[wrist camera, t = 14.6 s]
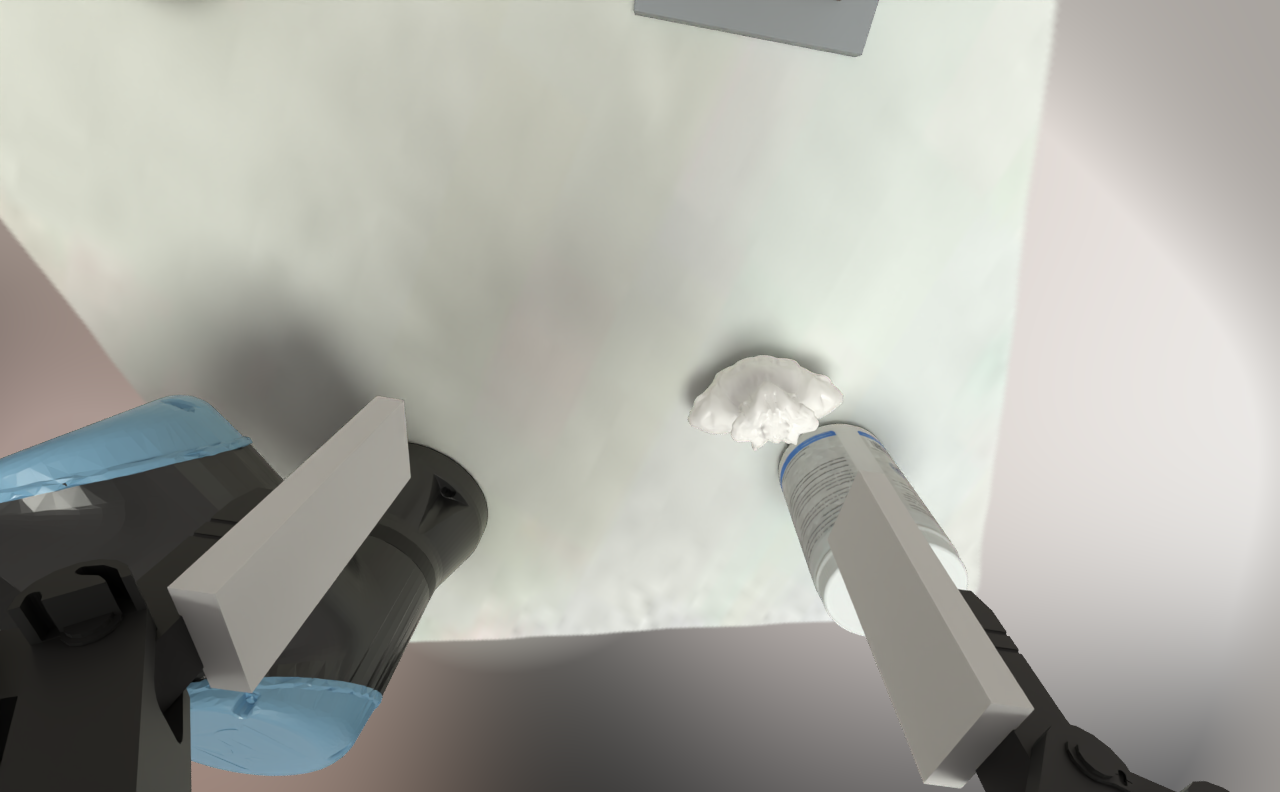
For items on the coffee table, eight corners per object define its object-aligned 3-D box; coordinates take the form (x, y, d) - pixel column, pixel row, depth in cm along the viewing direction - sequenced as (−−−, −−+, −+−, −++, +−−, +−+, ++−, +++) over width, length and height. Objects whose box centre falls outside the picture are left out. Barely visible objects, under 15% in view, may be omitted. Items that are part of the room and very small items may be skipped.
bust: (821, 356, 43) (852, 315, 32) (839, 442, 42) (878, 430, 31) (684, 379, 45) (670, 348, 34) (697, 462, 43) (687, 458, 32)
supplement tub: (774, 504, 48) (812, 642, 35) (778, 421, 44) (823, 544, 31) (878, 501, 47) (955, 641, 34) (892, 416, 43) (988, 539, 30)
